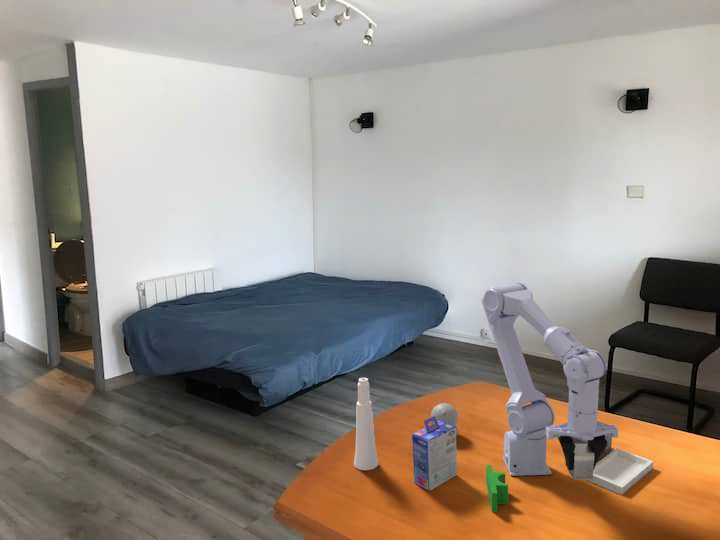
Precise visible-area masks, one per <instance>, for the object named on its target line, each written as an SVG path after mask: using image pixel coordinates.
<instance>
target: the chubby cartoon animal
mask: <svg viewBox="0 0 720 540" xmlns="http://www.w3.org/2000/svg"><path fill="white" fill-rule="evenodd" d="M433 416H435V418H436V420H437V421H439V420H440V421H443V422H446V423H448V424H450V425H453V426H455V427H456V436H458V435H459V428H458V427H457V424H458V421H459V415H458V411H457V410H456V408H455V407H454V406H453V405H451V404H450V403H445V402H443V403H439V404H437V405H435V406H434V407H433V408H432V410H431V412H430V418H431V417H433ZM433 423H435V421H431V424H433Z"/></svg>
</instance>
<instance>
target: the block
mask: <svg viewBox="0 0 720 540" xmlns="http://www.w3.org/2000/svg"><path fill="white" fill-rule="evenodd" d="M575 446H576V447H575V450H574V455H573V469H572V470H568V468H567V467H566V470H567V471H568V473H569V474H570V476H571V477H572V479H573V480H585V479H593V467H594V452H593V451H592V449H591V448H590V447H589V446H588V444H587V443H586V444H575Z"/></svg>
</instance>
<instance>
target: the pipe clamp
mask: <svg viewBox="0 0 720 540" xmlns="http://www.w3.org/2000/svg"><path fill="white" fill-rule="evenodd" d="M485 468H486V469H485V470H486V471H485V473H486V474H485V477H486V479H485V480H486V481H485V482H486V488H487V493H488V500H489V505H490V510H491V512H492V513H498V505H499V504H500V505H508V504H509V484H508V483H506V472H502V471H493V467H492V464H486V467H485Z"/></svg>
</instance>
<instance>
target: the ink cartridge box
mask: <svg viewBox="0 0 720 540" xmlns="http://www.w3.org/2000/svg"><path fill="white" fill-rule="evenodd" d="M432 421H435V423H433V424H432V423H431V424H430V425H429V423H430V422H432ZM423 422H424V425H425V426H424V427H423V428H422V429H419V430H418V431H415V432H413V433H412V434H411V438H412V439H411V440H412V443H411V444H412V459H413V460H412V463H413V480H414V481H413V482H414V484H417V485H418V486H420V487H421V488H423V489H425V490H427V491H429V492H430V491H432V490H434V489H435V488H437V487H439V486H440V485H442V484H444V483H445V482H447V481H449V480H451V479H452V478H454V477H456V476H458V468H457V467H458V465H457V462H458V460H457V456H458V455H457V435H456V427H455V426H453V425H450V424H448V423H446V422H443V421H440V420H439V421H437V420H436V418H435V416H433V417H431V416H430V417H429V418H427V419H424V420H423Z"/></svg>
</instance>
